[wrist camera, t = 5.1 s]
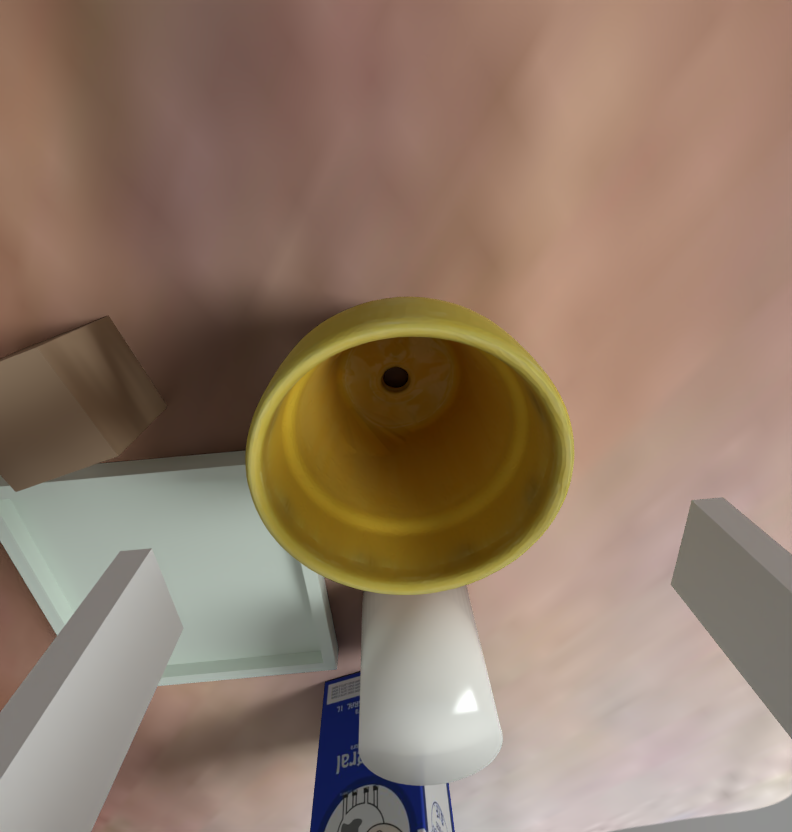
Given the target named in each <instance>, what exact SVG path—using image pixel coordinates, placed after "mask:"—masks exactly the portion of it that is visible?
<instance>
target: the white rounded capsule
mask: <svg viewBox="0 0 792 832" xmlns="http://www.w3.org/2000/svg"><path fill="white" fill-rule="evenodd" d="M502 741H503V738H502V731H501V727H500V723H499V719H498V715H497V710H496V706H495V702H494V698H493V694H492V690H491V685H490V681H489V677H488V673H487V669H486V665H485V660H484V656H483V652H482V648H481V644H480V640H479V635H478V631H477V627H476V623H475V619H474V615H473V610H472V606H471V602H470V598H469V594H468V590H467V586H466V585H465V586H462V587H458V588H455V589H450V590H446V591H441V592H436V593H430V594H420V595H391V594H380V593H374V592H369V591H364V592H363V605H362V641H361V677H360V713H359V755H360V758H361V760H362V762H363V764H364V765H365V766H366V767H367V768H368V769H369V770H370V771H371V772H373V773H374V774H376V775H377V776H379V777H381V778H384V779H386V780H389V781H392V782H396V783H400V784H406V785H416V786H427V785H439V784H445V783H450V782H454V781H457V780H461V779H463V778H466V777H468V776H471V775H473V774H475V773H477V772H478V771H480V770H482V769H483V768H485V767H486V766H487V765H488V764H490V763H491V762H492V761H493V760H494V758H495V757H496V756H497V754H498V753H499V751H500V749H501V746H502Z"/></svg>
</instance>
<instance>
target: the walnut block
mask: <svg viewBox="0 0 792 832" xmlns="http://www.w3.org/2000/svg"><path fill="white" fill-rule="evenodd" d="M166 408H167V405H166V404H165V402H164V401H163V399H162V398H161V396H160V395H159V393H158V391H157V390H156V388H155V387H154V385H153V384H152V382H151V381H150V379H149V378H148V376H147V374H146V373H145V371H144V370H143V368H142V367H141V365H140V364H139V362H138V360H137V359H136V357H135V356H134V354H133V353H132V351H131V350H130V348H129V347H128V345H127V343H126V342H125V340H124V339H123V337H122V336H121V334H120V333H119V331H118V330H117V328H116V326H115V325H114V323H113V322H112V320H111V319H110V317H109V316H106V317H104V318H101V319H99V320H96V321H93V322H91V323H88V324H86V325H83V326H81V327H78V328H76V329H73V330H70V331H68V332H65V333H63V334H60V335H58V336H55V337H53V338H50V339H47V340H45V341H42V342H40V343H37V344H35V345H32V346H29V347H27V348H24V349H22V350H19V351H17V352H14V353H12V354H10V355H7V356H5V357H3V358H0V475H1V476H2V478H3V479H4V480H5V481H6V482H7V483H8V484H9V485H10V486H11V487H12V489H13V490H14V491H15V492H18V491H21V490H24V489H26V488H29V487H32V486H35V485H38V484H41V483H43V482H46V481H49V480H52V479H55V478H58V477H61V476H63V475H66V474H69V473H72V472H75V471H78V470H81V469H83V468H86V467H89V466H92V465H95V464H98V463H100V462H103V461H106V460H109V459H112V458H115V457H118V456H119V455H120V454H121V453H122V452H123V451H124V450H125V449H126V448H127V447H128V446H129V445H130V444H131V443H132V442H133V441H134V440H135V439H136V438H137V437H138V436H139V435H140V434H141V433H142V432H143V431H144V430H145V429H146V428H147V427H148V426H149V425H150V424H151V423H152V422H153V421H154V420H155V419H156V418H157V417H158V416H159V415H160V414H161V413H162V412H163V411H164V410H165V409H166Z"/></svg>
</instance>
